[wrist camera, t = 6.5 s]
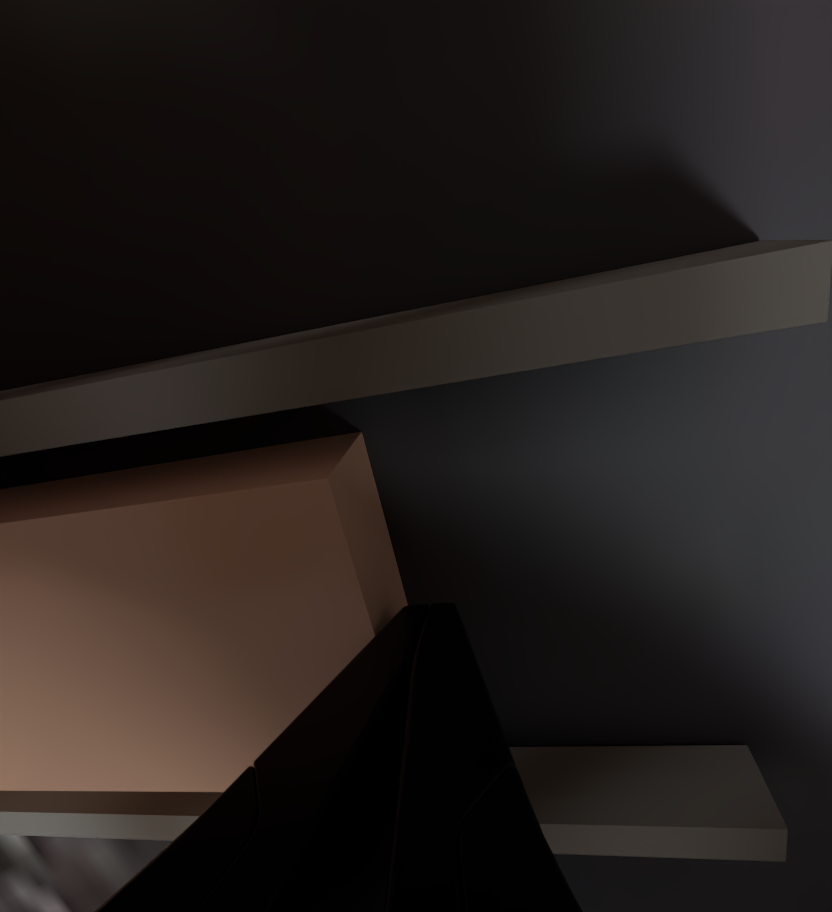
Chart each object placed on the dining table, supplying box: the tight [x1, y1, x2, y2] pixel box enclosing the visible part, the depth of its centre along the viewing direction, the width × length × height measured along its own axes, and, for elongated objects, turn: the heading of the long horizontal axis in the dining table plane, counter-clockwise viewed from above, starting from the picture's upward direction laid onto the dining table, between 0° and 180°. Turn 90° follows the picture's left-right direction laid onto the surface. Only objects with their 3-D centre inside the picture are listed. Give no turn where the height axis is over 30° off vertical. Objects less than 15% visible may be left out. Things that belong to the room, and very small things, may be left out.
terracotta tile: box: [0, 432, 408, 792], centre depth 10 cm, size 12×6×2 cm, turn 102°
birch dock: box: [0, 240, 832, 862], centre depth 9 cm, size 23×12×5 cm, turn 102°
